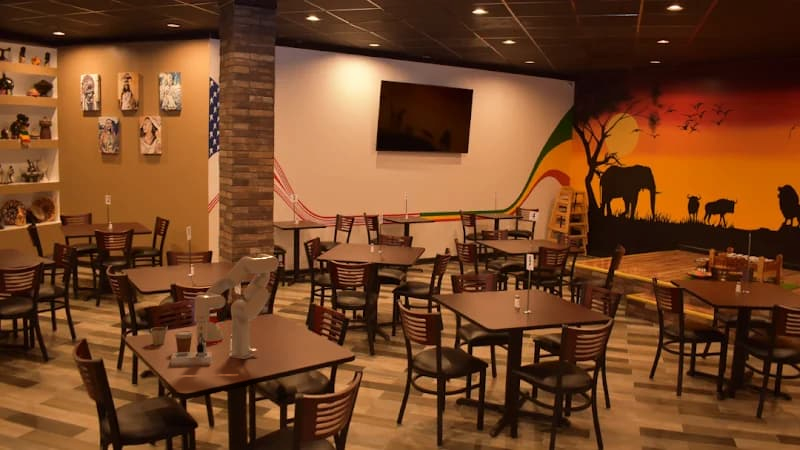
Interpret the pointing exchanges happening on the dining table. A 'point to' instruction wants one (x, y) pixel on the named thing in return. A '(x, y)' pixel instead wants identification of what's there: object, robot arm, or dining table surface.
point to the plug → (203, 351)
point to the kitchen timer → (213, 332)
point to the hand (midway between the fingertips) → (200, 349)
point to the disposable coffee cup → (183, 341)
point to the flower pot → (158, 335)
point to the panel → (190, 359)
